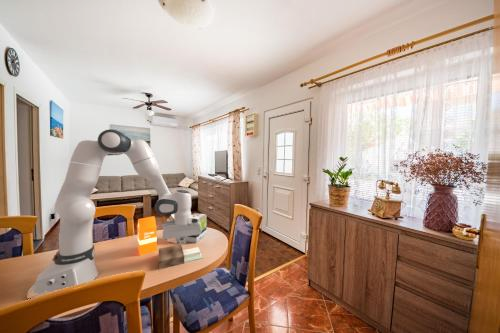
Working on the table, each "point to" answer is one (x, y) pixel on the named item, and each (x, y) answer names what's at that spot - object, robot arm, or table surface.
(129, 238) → the table surface
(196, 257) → the mat
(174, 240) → the milk carton
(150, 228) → the orange juice
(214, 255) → the table surface
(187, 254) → the beige flat block
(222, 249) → the table surface
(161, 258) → the block
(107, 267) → the table surface
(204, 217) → the tea box
